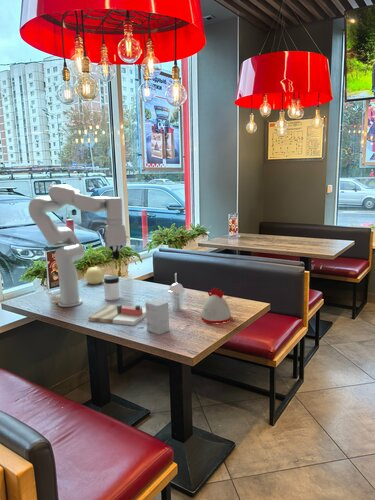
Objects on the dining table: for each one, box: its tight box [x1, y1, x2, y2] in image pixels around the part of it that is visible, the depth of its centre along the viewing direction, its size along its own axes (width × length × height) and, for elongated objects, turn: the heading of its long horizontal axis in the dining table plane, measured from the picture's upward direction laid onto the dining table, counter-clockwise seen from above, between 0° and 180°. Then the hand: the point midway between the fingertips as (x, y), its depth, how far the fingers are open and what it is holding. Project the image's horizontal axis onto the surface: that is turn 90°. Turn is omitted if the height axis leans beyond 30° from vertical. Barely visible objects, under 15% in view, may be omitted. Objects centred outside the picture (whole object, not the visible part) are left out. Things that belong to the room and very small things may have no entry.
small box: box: [145, 298, 170, 336], centre depth 168 cm, size 8×6×13 cm
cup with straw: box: [167, 272, 186, 312], centre depth 193 cm, size 8×9×20 cm
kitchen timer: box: [200, 287, 232, 324], centre depth 180 cm, size 14×14×15 cm
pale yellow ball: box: [85, 265, 106, 285], centre depth 249 cm, size 11×12×11 cm
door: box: [112, 305, 146, 326], centre depth 186 cm, size 11×18×4 cm, turn 162°
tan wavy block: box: [88, 304, 125, 324], centre depth 189 cm, size 13×18×5 cm
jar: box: [103, 275, 121, 301], centre depth 216 cm, size 9×8×12 cm
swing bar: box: [121, 304, 143, 316], centre depth 184 cm, size 10×3×4 cm, turn 66°
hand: (116, 258), depth 194 cm, fingers closed
